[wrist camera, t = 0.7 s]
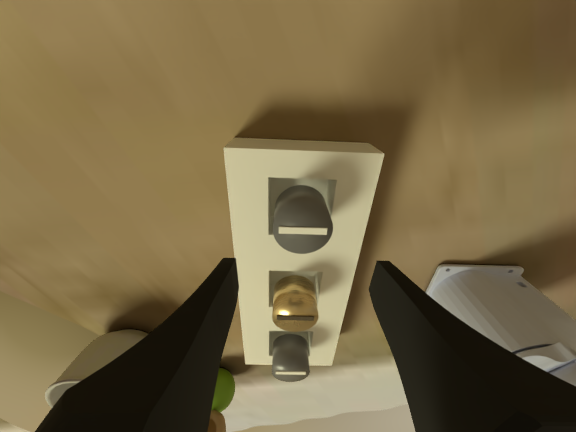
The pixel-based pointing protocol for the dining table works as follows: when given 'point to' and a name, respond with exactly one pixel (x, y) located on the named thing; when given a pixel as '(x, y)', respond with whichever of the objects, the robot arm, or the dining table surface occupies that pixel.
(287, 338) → the knob far
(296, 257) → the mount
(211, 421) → the snail figurine
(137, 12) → the dining table surface
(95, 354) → the teacup
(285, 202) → the knob near
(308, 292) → the knob brass
